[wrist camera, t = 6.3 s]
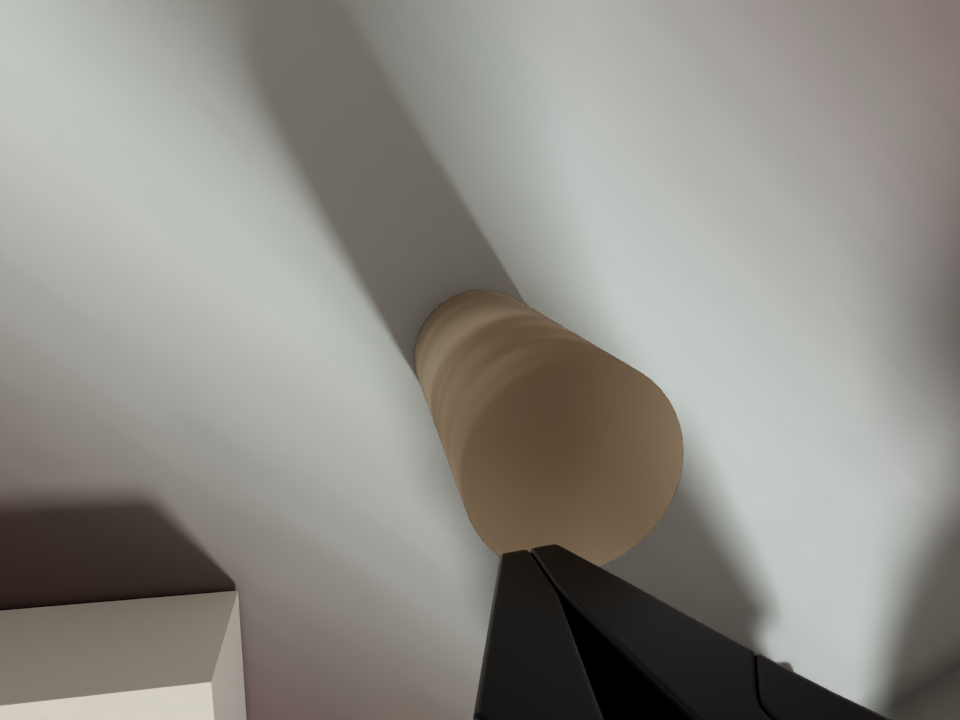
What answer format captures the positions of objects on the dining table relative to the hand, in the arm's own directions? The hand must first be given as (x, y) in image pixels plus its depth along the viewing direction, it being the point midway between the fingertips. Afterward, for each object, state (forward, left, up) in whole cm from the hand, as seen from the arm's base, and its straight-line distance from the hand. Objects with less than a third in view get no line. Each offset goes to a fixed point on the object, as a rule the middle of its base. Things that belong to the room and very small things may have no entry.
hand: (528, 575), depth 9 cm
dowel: (-2, 0, -12) cm, 12 cm away
